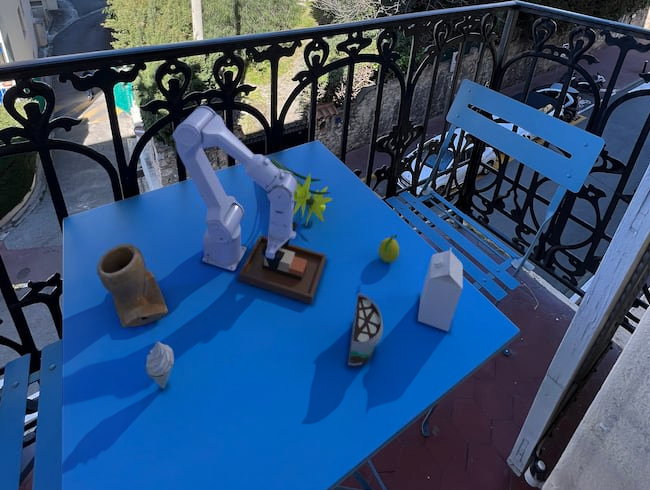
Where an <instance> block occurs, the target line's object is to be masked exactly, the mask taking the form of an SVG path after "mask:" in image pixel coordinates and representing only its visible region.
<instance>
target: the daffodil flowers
mask: <svg viewBox="0 0 650 490" xmlns="http://www.w3.org/2000/svg"><path fill="white" fill-rule="evenodd" d="M270 162H271V163H272V164H273V165H275V166H276V167H277V168H278V169H282V170H284V171H289V172H291V173H293V175H294V176H295V177H296V178H297V182H298V183H297V187H296V190H295V193H294V202H296V203H295V205H294V209H293V218H296V213H297V211H298V210H299V209H300V207H301V213H302V214H301V218H304V214H305V210H306V206H307V207H308V212H307V217H306V223H305V227H307V226H308V222H309V220H310V219H311V216H312V214H313V213H314V215H315V216H316V217H317V218H318V219H319V220H320V221H322V223H325V219H324V216H323V213H324V212H325V211H326V205H325V204H327V203H329V202H331V201H332V200H333V198H332V197H328V196H324V195H328V194H331V193H332V192H331V191H327V190H328V188H329V186H326V187H324V188H322V189H321V190H320V191H319V189H317V190H311V189H310V187H311V185H312V184H311V183H314V182H320V181H322V179H321V178H313V177H312V176H311V172H309V174H308V175H307V176H304V175H302V174H300V173H298V172H296V171H294V170H292V169H290V168H288V167H286V166H284V165H283V164H281V163H280V162H279V161H278V160H276V159H275V158H272V159H270ZM298 178H299V179H301V180H303V181H304V183H303V182H302V181H300V180H299V179H298ZM323 196H324V197H323Z"/></svg>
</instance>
